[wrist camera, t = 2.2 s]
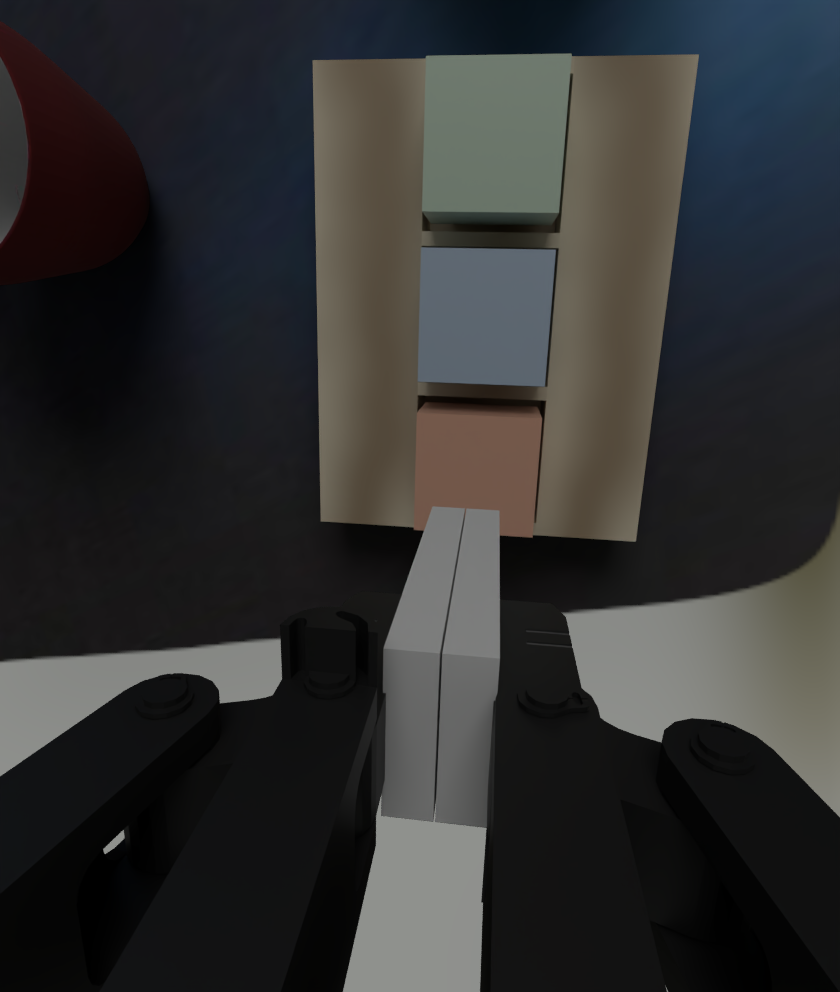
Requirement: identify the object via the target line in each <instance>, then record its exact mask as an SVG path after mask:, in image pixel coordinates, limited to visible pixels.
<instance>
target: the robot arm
mask: <svg viewBox="0 0 840 992" xmlns="http://www.w3.org/2000/svg"><path fill="white" fill-rule="evenodd" d="M280 634H281V659H282V680H281V682H280V684H279V686H278V687H277V689H276V691H275V693H274V694H273V695H272V696H269V697H266V698H261V699H256V700H249V701H240V702H230V703H221V704H220V702H219V701H220V700H219V690H218V689H217V687H216V686H215V685H214V683H213V682H212V681H211V680H208V679H206V678H204V677H202V676H200V675H191V674H183V673H177V674H176V673H174V674H166V675H160V676H158V677H155V678H152V679H148V680H145V681H142V682H140V683H138V684H136V685H134V686H132V687H130V688H129V689H127V690H125V691H123V692H122V693H121V694H119V695H118V696H116V697H115V698H113V699H112V700H110V701H109V702H108V703H106V704H105V705H103V706H102V707H100V708H99V709H97V710H96V711H94V712H93V713H92V714H90V715H89V716H87V717H86V718H84V719H83V720H82V721H80V722H79V723H77V724H76V725H74V726H73V727H71V728H70V729H69V730H67V731H65V732H64V733H63V734H61V735H60V736H58V737H57V738H55V739H54V740H53V741H51V742H50V743H48V744H47V745H45V746H44V747H42V748H41V749H39V750H38V751H36V752H35V753H34V754H32V755H31V756H29V757H28V758H26V759H25V760H23V761H22V762H21V763H19V764H18V765H16V766H15V767H13V768H12V769H10V770H9V771H8V772H6V773H5V774H3V775H2V776H0V992H343V988H344V984H345V979H346V974H347V970H348V966H349V962H350V957H351V953H352V948H353V944H354V939H355V934H356V930H357V926H358V921H359V917H360V913H361V908H362V904H363V899H364V895H365V891H366V886H367V882H368V877H369V873H370V868H371V864H372V859H373V855H374V851H375V846H376V813H377V809H378V805H379V801H380V797H381V793H382V805H381V806H382V807H381V809H382V810H381V816H388V817H396V818H405V819H414V820H423V821H431V822H433V819H434V811H435V803H436V819H435V822H440V823H449V824H458V825H467V826H475V827H484V828H487V830H486V845H485V860H484V874H483V888H482V902H483V922H482V953H481V954H482V955H481V983H480V992H667V991H666V987H667V990H668V992H840V817H839V816H838V815H837V814H836V813H835V812H834V811H833V810H832V809H831V808H830V807H829V806H828V805H827V804H826V803H825V802H824V801H823V800H822V799H821V798H820V797H819V796H818V795H817V794H816V793H815V792H814V791H813V790H812V789H811V788H810V787H809V786H808V784H807V783H806V782H805V781H804V780H803V779H802V778H801V777H800V776H799V775H798V774H797V773H796V772H795V771H794V770H793V769H792V768H791V767H790V766H789V765H788V764H787V763H786V762H785V761H784V760H783V759H782V758H781V757H780V756H779V755H778V754H777V753H776V752H775V751H774V750H773V749H772V748H771V747H769V746H768V745H767V744H765V743H764V742H763V741H762V740H760V739H759V738H758V737H756V736H754V735H752V734H750V733H748V732H746V731H744V730H742V729H740V728H738V727H736V726H734V725H731V724H728V723H722V722H721V721H716V720H707V719H693V718H692V719H687V720H682V721H677V722H674V723H673V724H672V725H670V726H669V727H668V728H666V729H665V730H664V734H663V739H662V743H661V742H657V741H654V740H650V739H647V738H644V737H641V736H637V735H634V734H631V733H629V732H626V731H623V730H621V729H618V728H616V727H615V726H613V725H611V724H609V723H607V722H605V721H604V720H603V719H601V718H600V715H599V711H598V707H597V705H596V704H595V702H594V700H593V698H592V697H591V696H590V695H589V694H588V693H587V692H585V691H584V690H583V689H582V688H581V684H580V679H579V675H578V670H577V666H576V661H575V657H574V652H573V648H572V643H571V639H570V635H569V629H568V625H567V621H566V617H565V616H564V615H563V614H562V613H561V612H560V611H559V610H558V609H557V608H556V607H555V606H554V605H553V604H552V603H539V602H525V601H512V600H500V518H499V510H484V509H468V508H467V509H466V515H465V508H451V507H435V506H433V507H432V509H431V512H430V515H429V518H428V521H427V524H426V527H425V530H424V533H423V535H422V538H421V541H420V544H419V547H418V550H417V553H416V556H415V559H414V561H413V564H412V567H411V570H410V573H409V576H408V579H407V582H406V585H405V587H404V590H403V593H402V594H394V593H380V592H367V591H361V592H359V593H357V594H356V595H354V596H353V597H351V598H350V599H348V600H347V601H345V602H344V603H343V605H342V607H319V608H314V609H308V610H304V611H301V612H299V613H297V614H294V615H292V616H290V617H288V618H287V619H286V620H285V621H284V622H283V623H282V624H280ZM123 830H124V835H125V839H124V840H123V841H121V843H120V844H118V845H117V846H116V847H115V848H114V849H112V850H111V851H110V852H108V853H106V854H104V852H103V848H105V847H106V846H107V845H108V844H109V843H110V842H111V841H112V840H113V839H114V838H115V837H116V836H117V835H118V834H119V833H120V832H121V831H123ZM665 985H666V987H665Z"/></svg>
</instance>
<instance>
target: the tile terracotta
mask: <svg viewBox="0 0 840 992" xmlns="http://www.w3.org/2000/svg"><path fill="white" fill-rule="evenodd" d="M541 427H542V417H541V414H540V412H539V410H538V407H535V406H512V405H489V404H466V403H443V402H425V404H424V405H423V406H422V407H421V408H420V410H419V411H418V412H417V425H416V464H415V503H414V530H425V527H426V524H427V521H428V518H429V515H430V512H431V509H432V507H433V506H435V507H451V508H465V515H466V509H467V508H468V509H484V510H499V518H500V535H501V536H516V537H531V538H533V526H534V514H535V501H536V489H537V477H538V464H539V452H540V440H541Z"/></svg>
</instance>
